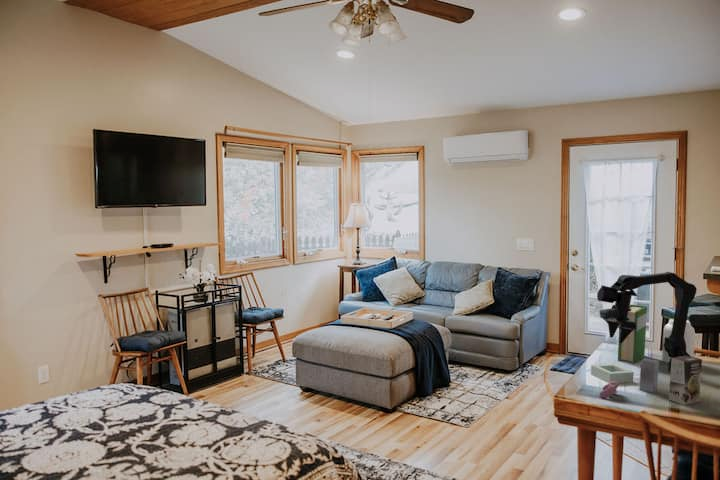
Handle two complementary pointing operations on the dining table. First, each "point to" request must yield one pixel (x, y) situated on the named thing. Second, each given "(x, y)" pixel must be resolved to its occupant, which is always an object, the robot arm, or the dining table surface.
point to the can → (688, 337)
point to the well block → (612, 373)
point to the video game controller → (609, 389)
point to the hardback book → (634, 336)
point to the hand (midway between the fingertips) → (615, 340)
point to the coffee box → (685, 380)
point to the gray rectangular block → (649, 375)
